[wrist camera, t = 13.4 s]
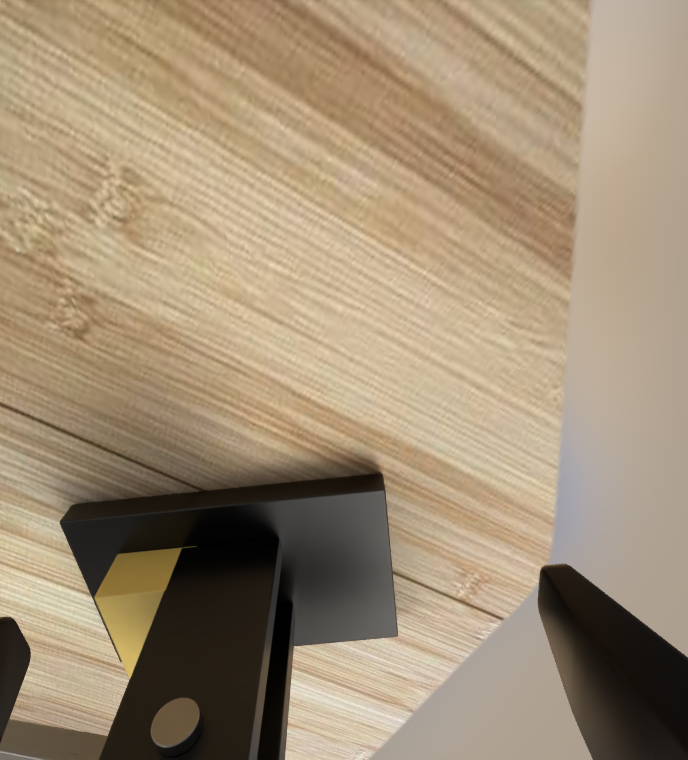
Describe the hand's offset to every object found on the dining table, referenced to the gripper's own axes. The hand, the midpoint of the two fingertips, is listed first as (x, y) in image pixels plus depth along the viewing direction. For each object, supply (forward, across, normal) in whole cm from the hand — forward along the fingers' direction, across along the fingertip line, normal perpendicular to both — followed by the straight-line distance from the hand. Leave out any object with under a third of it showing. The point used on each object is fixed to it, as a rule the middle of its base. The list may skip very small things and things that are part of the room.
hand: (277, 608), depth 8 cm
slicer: (+12, +4, +10) cm, 17 cm away
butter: (+11, +8, +10) cm, 17 cm away
